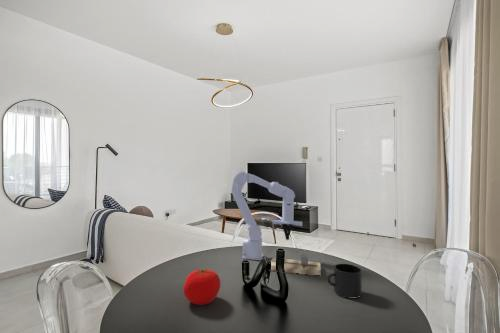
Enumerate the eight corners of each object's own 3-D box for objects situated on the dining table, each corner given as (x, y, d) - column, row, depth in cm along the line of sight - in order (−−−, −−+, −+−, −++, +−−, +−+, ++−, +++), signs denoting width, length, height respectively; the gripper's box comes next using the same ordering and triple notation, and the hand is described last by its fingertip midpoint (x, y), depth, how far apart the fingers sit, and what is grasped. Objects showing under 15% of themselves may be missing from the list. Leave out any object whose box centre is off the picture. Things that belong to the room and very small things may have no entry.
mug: (324, 286, 101) (324, 263, 101) (355, 287, 101) (355, 263, 101) (331, 298, 92) (331, 272, 92) (365, 299, 91) (366, 273, 92)
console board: (268, 270, 116) (269, 264, 116) (272, 262, 126) (272, 257, 126) (320, 276, 111) (320, 270, 111) (320, 267, 120) (320, 262, 121)
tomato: (176, 305, 85) (177, 273, 85) (198, 290, 96) (199, 261, 96) (206, 314, 80) (206, 279, 80) (225, 296, 91) (226, 266, 92)
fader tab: (300, 265, 116) (301, 256, 116) (301, 261, 120) (301, 253, 120) (307, 265, 115) (308, 257, 115) (308, 262, 119) (308, 254, 119)
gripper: (272, 212, 131) (271, 240, 131) (302, 214, 128) (301, 242, 128) (274, 210, 138) (274, 236, 138) (302, 212, 135) (302, 238, 134)
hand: (287, 239), depth 133 cm, fingers closed
